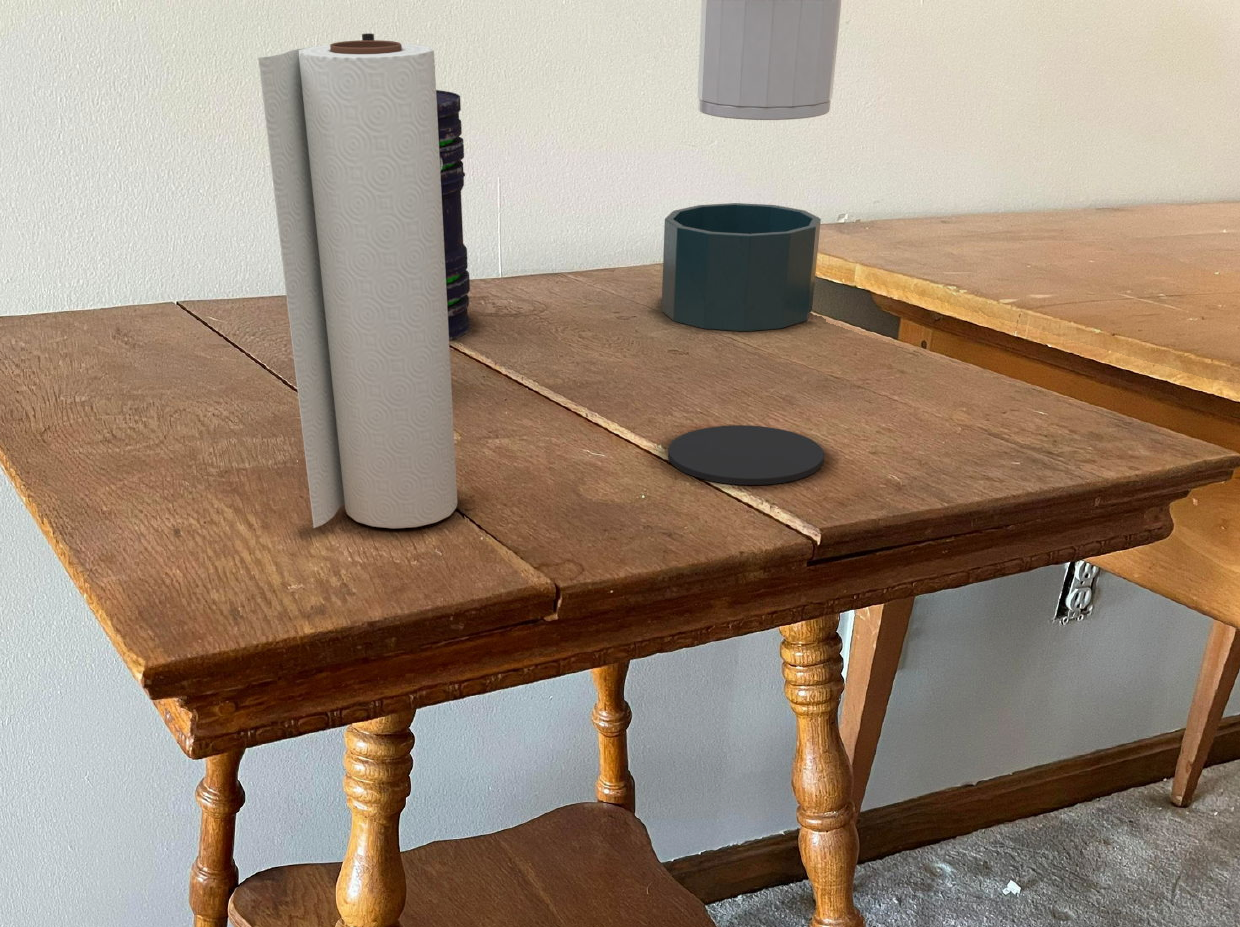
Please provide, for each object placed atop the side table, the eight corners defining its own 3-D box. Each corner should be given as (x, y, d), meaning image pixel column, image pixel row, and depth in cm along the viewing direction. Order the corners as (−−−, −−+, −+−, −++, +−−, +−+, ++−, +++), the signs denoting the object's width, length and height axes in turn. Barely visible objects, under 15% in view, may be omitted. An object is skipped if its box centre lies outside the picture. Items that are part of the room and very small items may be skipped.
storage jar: (374, 305, 108) (356, 85, 99) (491, 316, 105) (484, 91, 96) (315, 339, 100) (289, 104, 91) (439, 352, 98) (425, 111, 89)
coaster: (831, 438, 83) (832, 432, 83) (812, 492, 76) (813, 485, 76) (684, 426, 85) (685, 419, 85) (652, 477, 78) (653, 470, 78)
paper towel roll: (463, 490, 76) (441, 36, 63) (451, 533, 72) (425, 51, 59) (333, 489, 77) (285, 36, 64) (313, 531, 72) (257, 51, 59)
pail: (818, 297, 109) (827, 207, 105) (799, 335, 101) (808, 238, 97) (679, 288, 112) (683, 200, 108) (649, 324, 103) (652, 230, 99)
